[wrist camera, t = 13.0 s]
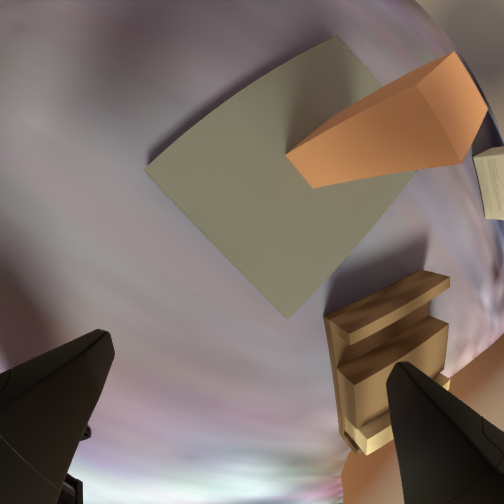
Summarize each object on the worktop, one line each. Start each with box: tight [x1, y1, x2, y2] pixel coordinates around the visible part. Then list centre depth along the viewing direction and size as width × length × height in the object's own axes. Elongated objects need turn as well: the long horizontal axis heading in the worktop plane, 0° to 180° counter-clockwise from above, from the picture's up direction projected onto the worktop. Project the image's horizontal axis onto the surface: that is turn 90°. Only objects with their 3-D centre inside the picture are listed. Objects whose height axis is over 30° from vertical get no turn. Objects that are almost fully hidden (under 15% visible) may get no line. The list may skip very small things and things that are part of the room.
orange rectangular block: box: [286, 52, 488, 188], centre depth 12 cm, size 5×3×12 cm, turn 133°
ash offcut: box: [344, 410, 394, 455], centre depth 21 cm, size 5×3×4 cm, turn 105°
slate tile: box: [144, 36, 417, 319], centre depth 19 cm, size 20×14×2 cm
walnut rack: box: [323, 270, 450, 455], centre depth 22 cm, size 12×16×4 cm
